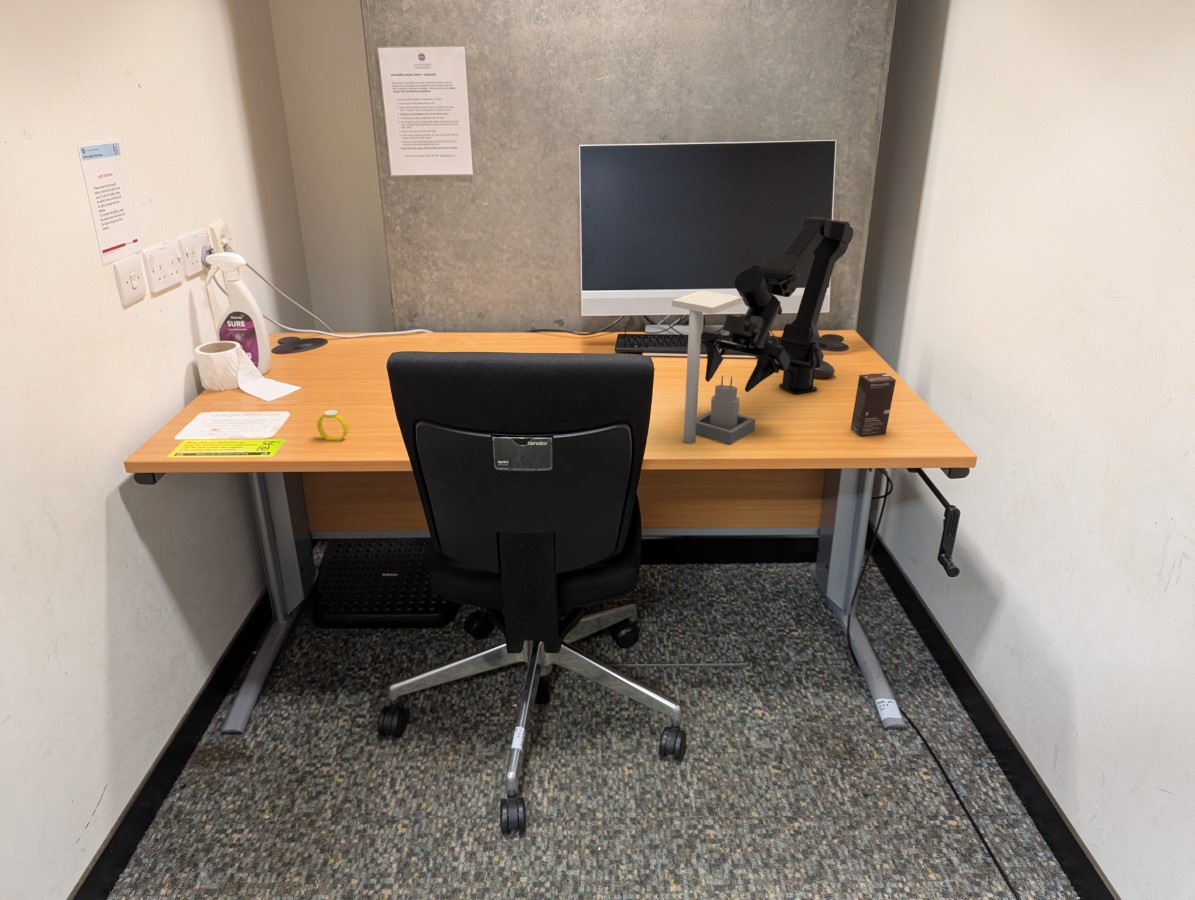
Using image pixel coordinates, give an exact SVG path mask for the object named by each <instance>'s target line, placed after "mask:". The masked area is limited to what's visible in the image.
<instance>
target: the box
mask: <svg viewBox="0 0 1195 900" xmlns="http://www.w3.org/2000/svg"><path fill="white" fill-rule="evenodd" d="M896 382H897V380H896V378H894V377H892V376H891V375H889V374H888V373H886V372H883V373H882V372H881V373H869V374H867V373H866V374H860V375H859V377H858V382H857V389H856V393H855V401H854V407H853V412H852V419H851V425H850V429H851V431H852V432H854V433H855V434H857V435H858V436H860V437H865V436H875V435H885V434H887V429H888V428H887V427H888V423H889V418H890V413H891V407H892V401H893V397H894V392H895V388H896V387H895V386H896Z"/></svg>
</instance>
